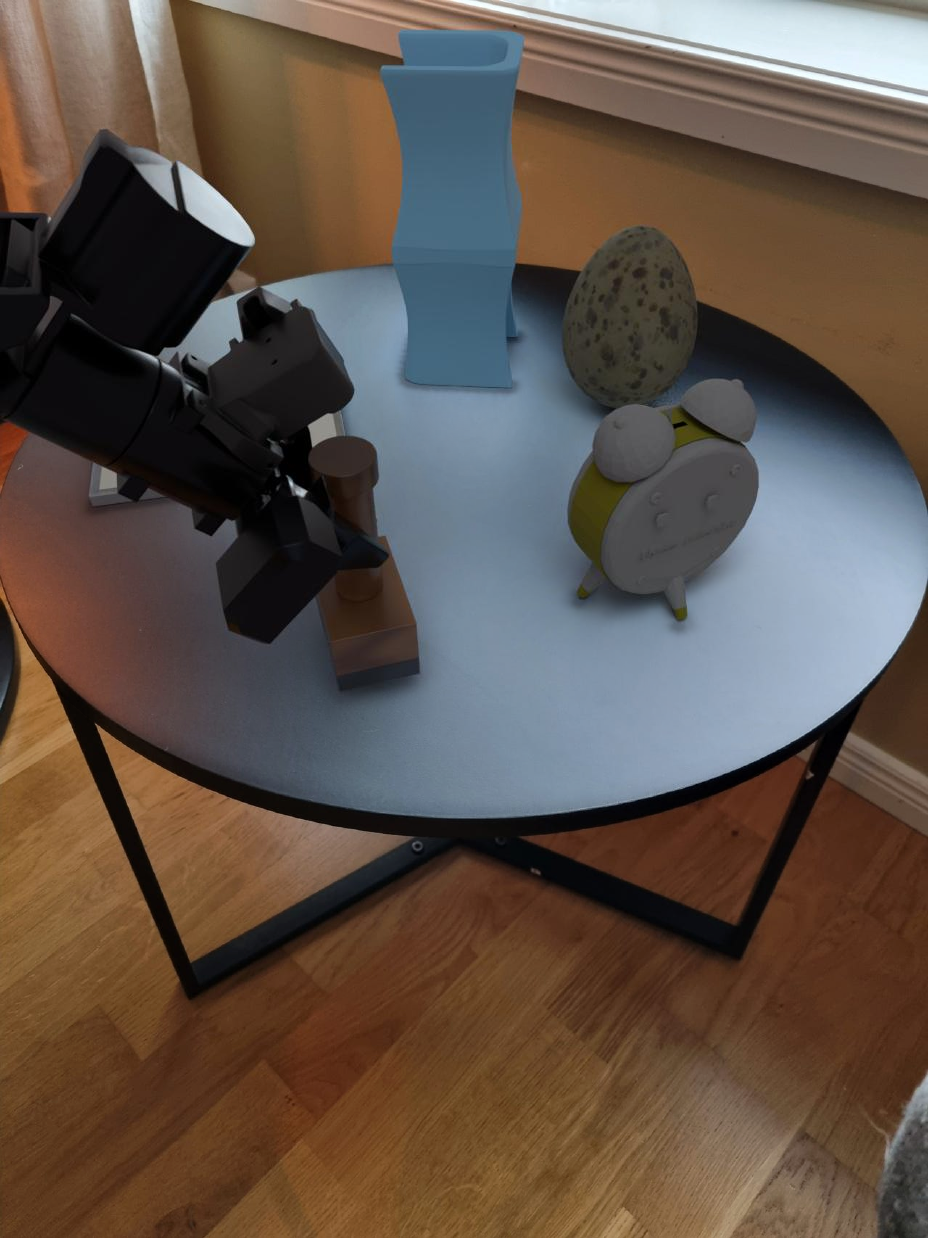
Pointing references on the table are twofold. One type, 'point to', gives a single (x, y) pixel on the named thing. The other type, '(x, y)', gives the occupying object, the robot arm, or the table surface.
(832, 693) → the table surface
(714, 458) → the alarm clock
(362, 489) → the wooden rubber stamp
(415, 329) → the vase
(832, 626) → the table surface
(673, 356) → the decorative egg
